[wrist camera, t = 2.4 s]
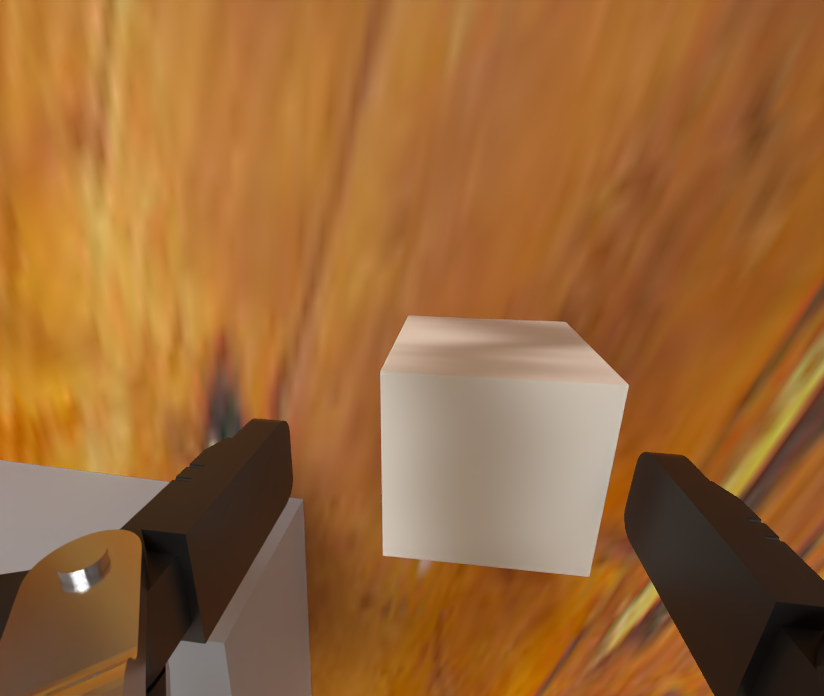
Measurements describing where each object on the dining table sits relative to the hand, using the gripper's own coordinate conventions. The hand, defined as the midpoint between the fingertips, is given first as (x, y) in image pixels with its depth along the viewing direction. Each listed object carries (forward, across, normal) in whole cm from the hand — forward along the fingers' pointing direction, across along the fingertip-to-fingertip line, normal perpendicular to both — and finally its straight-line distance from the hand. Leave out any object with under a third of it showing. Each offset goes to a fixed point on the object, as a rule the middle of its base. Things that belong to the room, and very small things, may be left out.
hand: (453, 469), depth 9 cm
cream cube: (+5, -1, 0) cm, 5 cm away
